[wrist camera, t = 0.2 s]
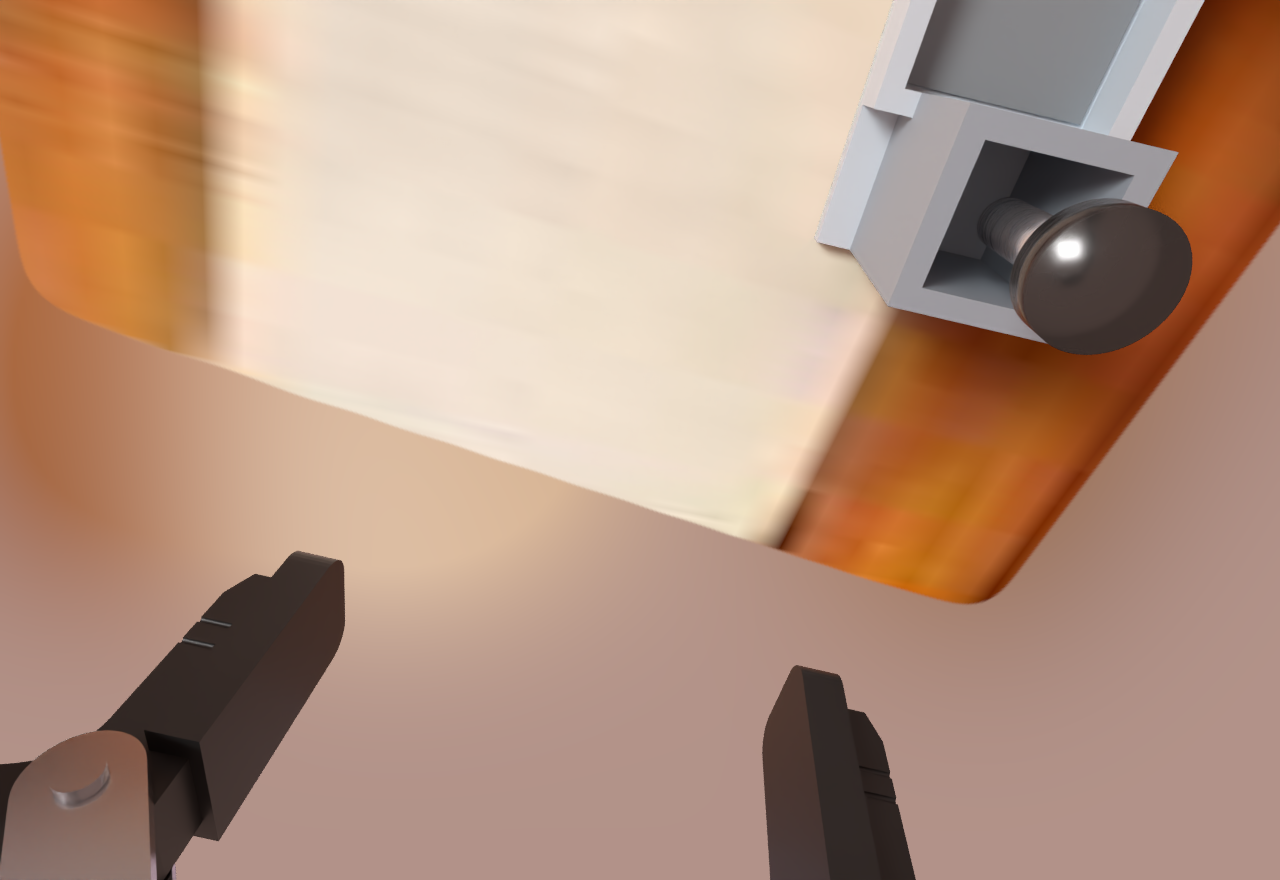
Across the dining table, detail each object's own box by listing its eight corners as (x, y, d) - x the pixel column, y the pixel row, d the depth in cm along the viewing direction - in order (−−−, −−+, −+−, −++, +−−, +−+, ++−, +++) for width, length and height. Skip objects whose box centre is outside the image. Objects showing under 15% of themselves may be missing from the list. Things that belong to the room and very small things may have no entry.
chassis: (964, -213, 27) (1080, -338, 18) (1230, -147, 27) (1469, -239, 19) (814, 237, 36) (845, 295, 27) (1015, 285, 36) (1109, 358, 28)
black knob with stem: (975, 152, 26) (1074, 191, 19) (1085, 178, 26) (1226, 227, 19) (927, 263, 28) (1000, 336, 21) (1029, 288, 29) (1137, 368, 21)
